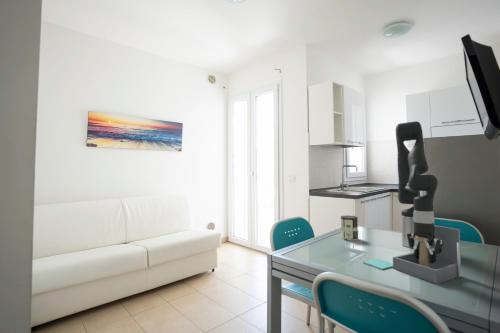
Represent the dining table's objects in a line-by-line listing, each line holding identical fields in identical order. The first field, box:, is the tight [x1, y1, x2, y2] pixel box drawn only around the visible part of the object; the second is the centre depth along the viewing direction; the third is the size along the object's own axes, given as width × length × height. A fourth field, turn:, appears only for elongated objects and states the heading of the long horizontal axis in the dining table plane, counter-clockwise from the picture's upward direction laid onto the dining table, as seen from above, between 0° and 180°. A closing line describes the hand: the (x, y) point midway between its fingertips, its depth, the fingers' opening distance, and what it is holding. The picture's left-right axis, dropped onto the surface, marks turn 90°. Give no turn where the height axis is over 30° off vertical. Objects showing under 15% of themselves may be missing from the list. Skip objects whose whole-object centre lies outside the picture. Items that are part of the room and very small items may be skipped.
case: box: [392, 224, 462, 284], centre depth 111 cm, size 17×19×19 cm
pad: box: [362, 258, 393, 271], centre depth 121 cm, size 10×10×1 cm
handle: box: [415, 236, 430, 268], centre depth 111 cm, size 5×6×15 cm
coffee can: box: [340, 215, 359, 241], centre depth 168 cm, size 10×10×14 cm
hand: (424, 260), depth 111 cm, fingers open, 5 cm apart
